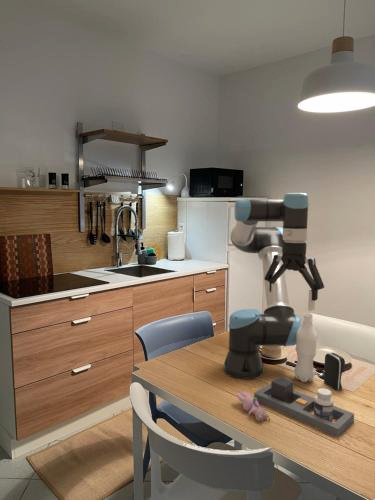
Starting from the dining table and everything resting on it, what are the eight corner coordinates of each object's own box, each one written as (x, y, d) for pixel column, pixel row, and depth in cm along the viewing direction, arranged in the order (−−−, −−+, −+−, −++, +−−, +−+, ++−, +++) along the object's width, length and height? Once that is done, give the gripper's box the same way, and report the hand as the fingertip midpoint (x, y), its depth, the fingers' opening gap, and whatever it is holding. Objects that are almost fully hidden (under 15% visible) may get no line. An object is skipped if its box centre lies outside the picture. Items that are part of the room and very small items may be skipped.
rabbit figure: (274, 425, 114) (245, 395, 127) (276, 408, 112) (248, 379, 125) (256, 430, 111) (229, 399, 124) (259, 413, 109) (231, 383, 122)
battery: (345, 389, 133) (347, 357, 131) (336, 391, 131) (338, 359, 130) (331, 380, 139) (333, 350, 138) (323, 382, 138) (324, 352, 136)
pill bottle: (310, 414, 117) (312, 387, 116) (327, 414, 117) (328, 386, 116) (318, 424, 112) (319, 396, 110) (335, 424, 112) (337, 395, 111)
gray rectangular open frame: (253, 400, 125) (254, 379, 124) (272, 388, 133) (273, 369, 132) (337, 437, 106) (338, 413, 105) (353, 421, 113) (355, 399, 112)
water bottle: (314, 375, 142) (318, 311, 137) (314, 385, 136) (318, 319, 131) (294, 372, 145) (298, 309, 140) (293, 381, 138) (297, 316, 133)
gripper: (255, 239, 129) (253, 300, 131) (326, 245, 111) (322, 316, 114) (267, 238, 134) (266, 297, 137) (337, 243, 116) (334, 311, 119)
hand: (292, 306), depth 125 cm, fingers open, 13 cm apart
